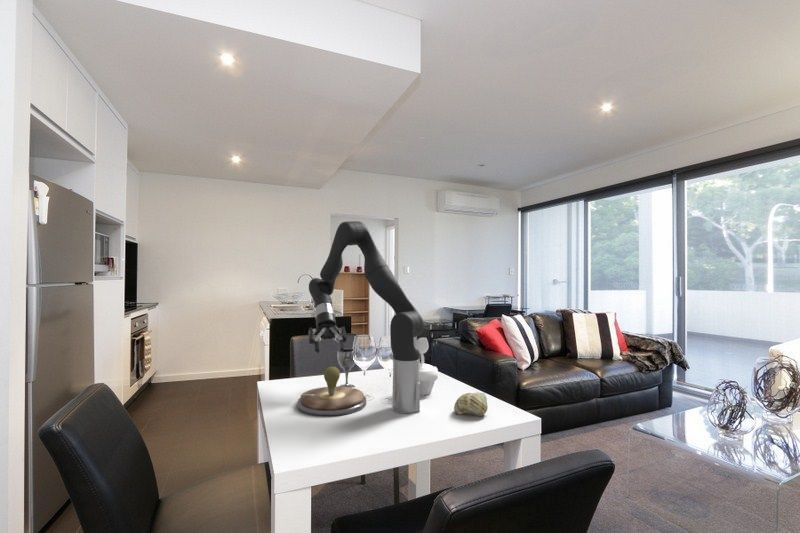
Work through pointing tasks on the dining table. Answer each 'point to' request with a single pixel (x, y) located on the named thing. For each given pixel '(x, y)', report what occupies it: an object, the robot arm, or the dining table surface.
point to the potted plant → (426, 369)
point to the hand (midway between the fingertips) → (329, 351)
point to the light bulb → (331, 378)
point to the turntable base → (331, 412)
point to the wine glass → (346, 363)
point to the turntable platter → (331, 398)
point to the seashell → (471, 404)
